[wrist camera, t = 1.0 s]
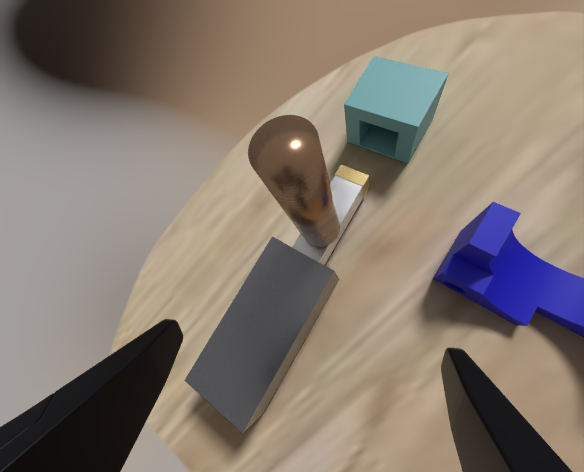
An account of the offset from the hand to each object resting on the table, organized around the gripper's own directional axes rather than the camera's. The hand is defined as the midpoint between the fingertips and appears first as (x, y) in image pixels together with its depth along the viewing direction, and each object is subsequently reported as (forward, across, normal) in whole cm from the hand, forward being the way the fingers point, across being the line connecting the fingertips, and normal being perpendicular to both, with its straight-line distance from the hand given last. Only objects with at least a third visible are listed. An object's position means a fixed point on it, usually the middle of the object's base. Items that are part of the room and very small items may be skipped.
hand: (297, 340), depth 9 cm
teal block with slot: (+22, -5, -2) cm, 23 cm away
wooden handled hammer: (+12, +2, +7) cm, 14 cm away
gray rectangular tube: (+9, +5, +10) cm, 15 cm away
